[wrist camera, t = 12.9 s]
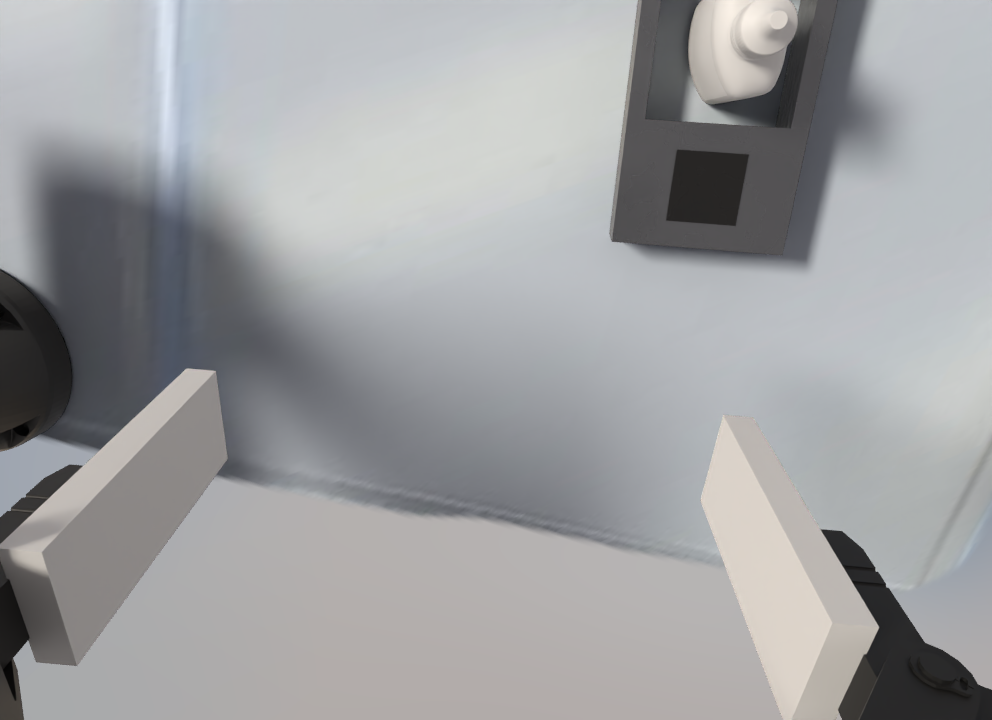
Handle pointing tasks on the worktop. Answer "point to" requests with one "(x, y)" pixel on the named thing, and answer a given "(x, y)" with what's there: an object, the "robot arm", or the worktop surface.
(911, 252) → the worktop surface
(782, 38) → the eye dropper bottle
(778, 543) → the robot arm
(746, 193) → the grey compartment tray
